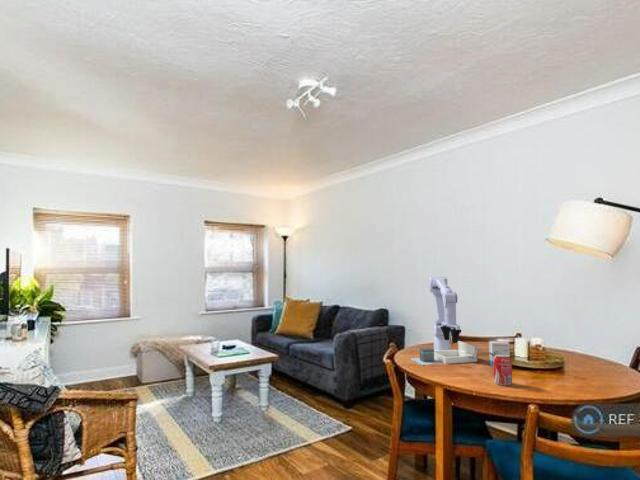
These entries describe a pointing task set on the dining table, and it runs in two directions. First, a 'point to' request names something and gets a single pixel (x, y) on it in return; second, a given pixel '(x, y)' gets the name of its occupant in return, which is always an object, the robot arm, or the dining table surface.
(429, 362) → the mat
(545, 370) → the dining table surface
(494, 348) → the ink box
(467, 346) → the case
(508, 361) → the soda can
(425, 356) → the block
